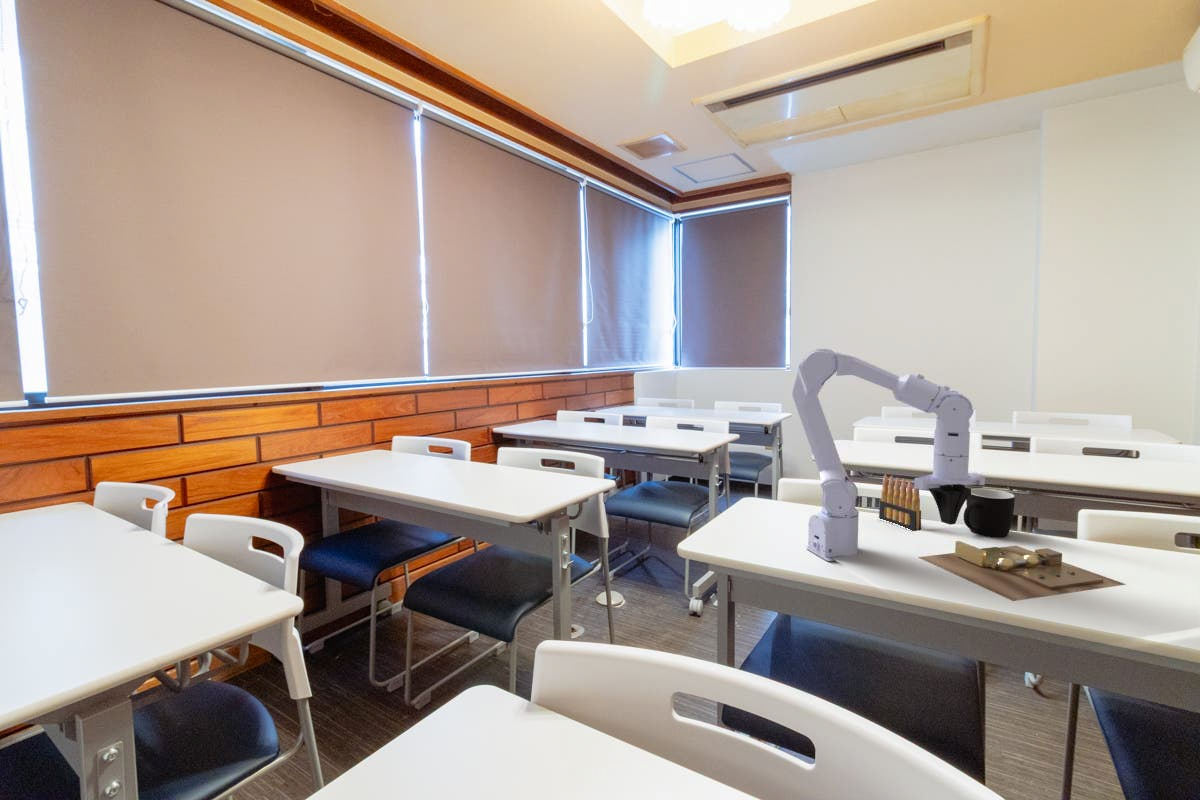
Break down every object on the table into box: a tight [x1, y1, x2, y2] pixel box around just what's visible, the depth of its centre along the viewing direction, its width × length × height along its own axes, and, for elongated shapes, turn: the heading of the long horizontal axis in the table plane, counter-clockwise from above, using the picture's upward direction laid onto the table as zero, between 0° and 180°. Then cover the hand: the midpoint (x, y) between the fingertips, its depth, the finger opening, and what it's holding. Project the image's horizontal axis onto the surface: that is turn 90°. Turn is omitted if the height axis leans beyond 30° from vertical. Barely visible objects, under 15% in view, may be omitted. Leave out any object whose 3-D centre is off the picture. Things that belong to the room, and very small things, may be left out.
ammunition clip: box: [878, 473, 922, 532], centre depth 131 cm, size 11×2×12 cm, turn 19°
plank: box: [918, 545, 1126, 602], centre depth 102 cm, size 25×20×1 cm
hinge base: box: [1012, 547, 1103, 590], centre depth 99 cm, size 12×10×3 cm
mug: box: [963, 487, 1016, 539], centre depth 122 cm, size 12×9×10 cm
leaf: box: [954, 540, 1046, 571], centre depth 106 cm, size 15×10×3 cm, turn 103°
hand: (948, 522), depth 104 cm, fingers closed
